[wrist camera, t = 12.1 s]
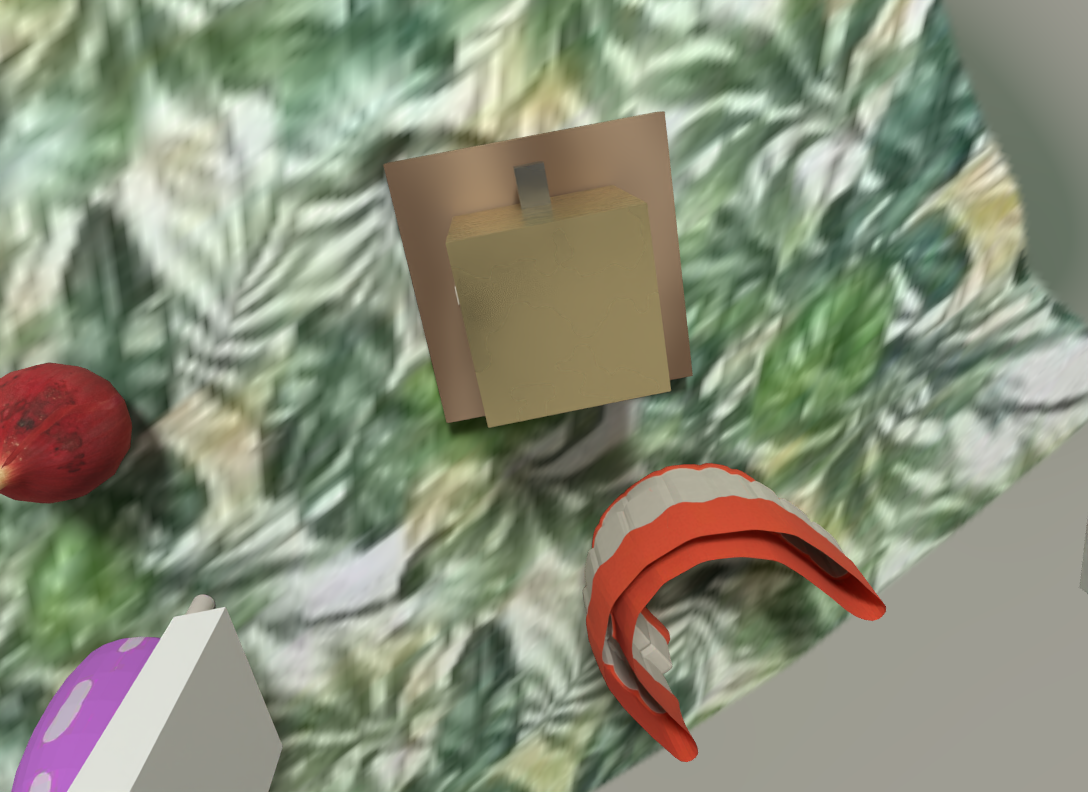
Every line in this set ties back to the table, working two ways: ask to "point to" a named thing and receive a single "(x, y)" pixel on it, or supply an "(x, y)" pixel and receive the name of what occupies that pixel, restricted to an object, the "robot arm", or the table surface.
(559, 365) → the block with peg
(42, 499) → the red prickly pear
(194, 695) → the robot arm
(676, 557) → the toy
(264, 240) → the table surface
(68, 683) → the toy
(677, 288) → the flat board
